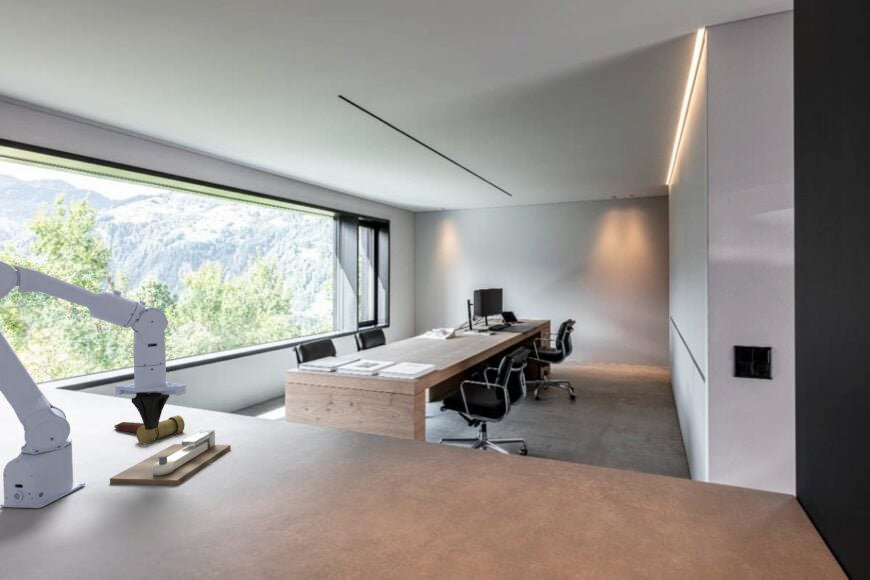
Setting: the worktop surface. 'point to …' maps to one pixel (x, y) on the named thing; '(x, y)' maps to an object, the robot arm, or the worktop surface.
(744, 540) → the worktop surface
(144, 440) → the gavel
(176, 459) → the swing link
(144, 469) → the pivot board
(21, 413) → the robot arm
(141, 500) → the worktop surface
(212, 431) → the keeper
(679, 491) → the worktop surface
